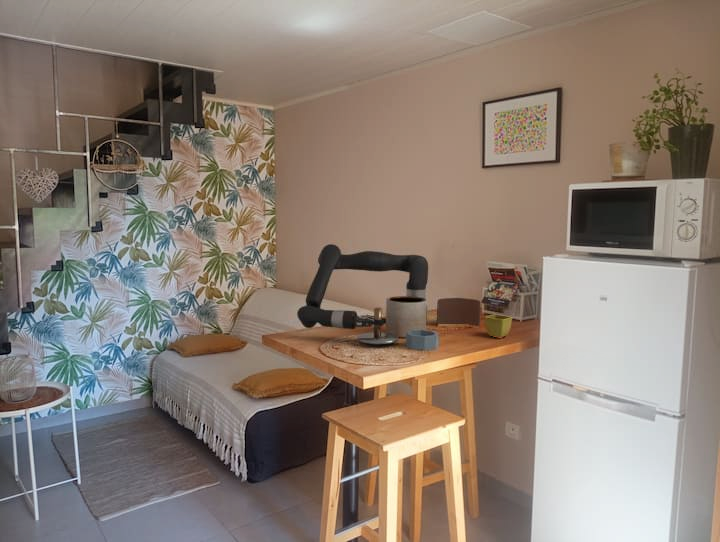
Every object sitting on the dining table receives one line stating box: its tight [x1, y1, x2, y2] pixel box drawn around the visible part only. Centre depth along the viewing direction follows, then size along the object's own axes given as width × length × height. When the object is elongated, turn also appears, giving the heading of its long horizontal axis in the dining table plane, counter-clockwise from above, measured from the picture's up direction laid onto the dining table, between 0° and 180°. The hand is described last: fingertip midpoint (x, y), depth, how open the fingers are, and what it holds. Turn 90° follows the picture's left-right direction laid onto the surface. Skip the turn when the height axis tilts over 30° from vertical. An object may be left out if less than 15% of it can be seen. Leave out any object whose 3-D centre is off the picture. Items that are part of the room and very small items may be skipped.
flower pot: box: [484, 313, 513, 337], centre depth 236 cm, size 9×9×9 cm
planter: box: [385, 295, 427, 339], centre depth 240 cm, size 18×18×16 cm
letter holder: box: [436, 297, 481, 327], centre depth 260 cm, size 10×20×14 cm, turn 82°
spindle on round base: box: [356, 306, 399, 345], centre depth 222 cm, size 17×17×13 cm
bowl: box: [405, 329, 440, 352], centre depth 218 cm, size 12×12×6 cm
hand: (384, 322), depth 221 cm, fingers closed on spindle on round base, 3 cm apart
